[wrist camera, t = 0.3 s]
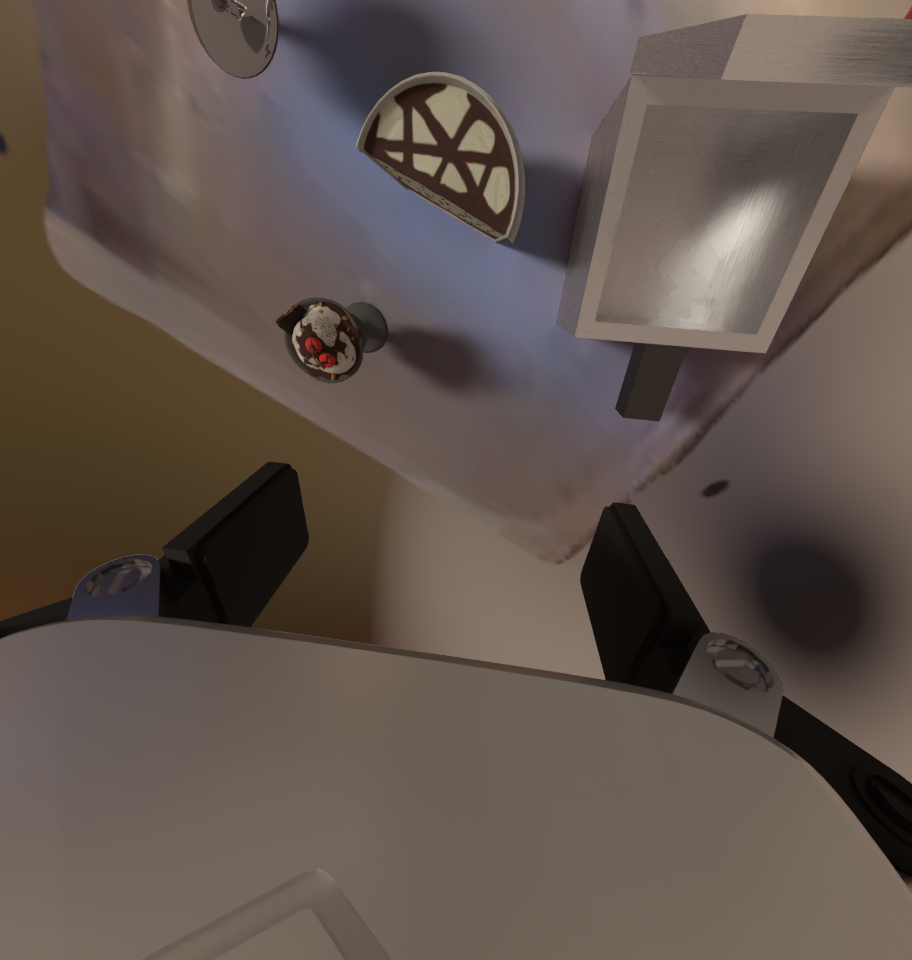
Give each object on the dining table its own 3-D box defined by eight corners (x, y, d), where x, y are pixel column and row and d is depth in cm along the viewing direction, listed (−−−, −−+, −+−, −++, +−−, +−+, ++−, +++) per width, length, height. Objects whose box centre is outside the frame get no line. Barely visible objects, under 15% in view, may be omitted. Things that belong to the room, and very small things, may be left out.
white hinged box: (592, 135, 29) (632, 73, 20) (772, 144, 28) (896, 84, 19) (545, 382, 39) (558, 412, 30) (676, 394, 38) (729, 429, 29)
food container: (547, 173, 30) (566, 131, 21) (510, 251, 33) (514, 241, 24) (416, 90, 28) (380, 7, 20) (389, 179, 31) (347, 141, 23)
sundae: (401, 355, 39) (352, 393, 26) (344, 363, 40) (270, 404, 27) (386, 288, 36) (322, 292, 23) (325, 299, 37) (231, 309, 24)
